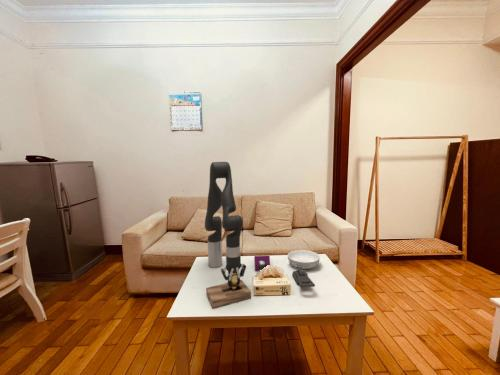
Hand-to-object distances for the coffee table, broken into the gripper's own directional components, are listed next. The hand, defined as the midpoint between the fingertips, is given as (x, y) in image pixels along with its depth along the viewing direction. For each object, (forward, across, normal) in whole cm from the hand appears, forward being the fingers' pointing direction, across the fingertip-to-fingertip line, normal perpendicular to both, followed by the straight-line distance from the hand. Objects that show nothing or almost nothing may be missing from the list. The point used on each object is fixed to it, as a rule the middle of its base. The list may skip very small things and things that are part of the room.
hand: (233, 285), depth 123 cm
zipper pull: (+6, -39, +7) cm, 40 cm away
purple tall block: (+6, -29, -25) cm, 39 cm away
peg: (+5, 0, 0) cm, 5 cm away
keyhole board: (+5, +3, 0) cm, 6 cm away
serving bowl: (+6, -54, -13) cm, 56 cm away
